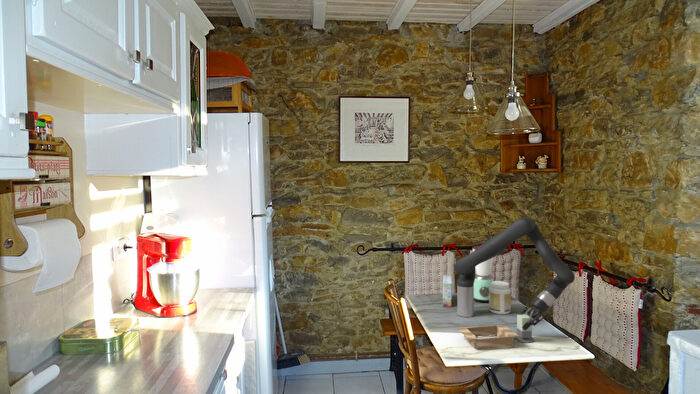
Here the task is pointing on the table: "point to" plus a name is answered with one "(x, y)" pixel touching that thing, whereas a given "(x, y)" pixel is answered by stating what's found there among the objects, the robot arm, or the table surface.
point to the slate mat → (524, 339)
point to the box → (520, 323)
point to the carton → (501, 331)
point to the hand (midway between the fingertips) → (520, 327)
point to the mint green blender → (482, 280)
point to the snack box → (447, 291)
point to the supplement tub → (499, 297)
